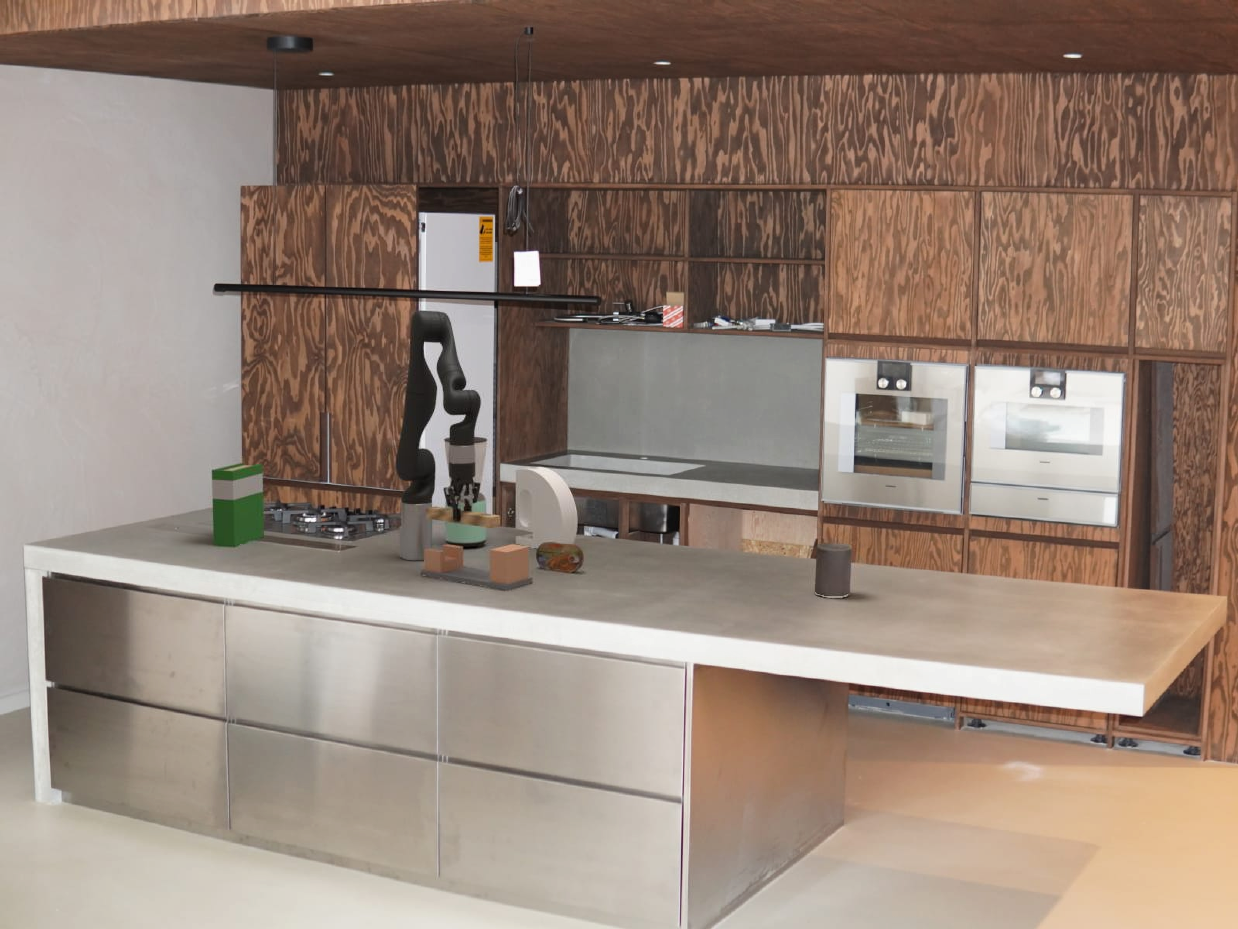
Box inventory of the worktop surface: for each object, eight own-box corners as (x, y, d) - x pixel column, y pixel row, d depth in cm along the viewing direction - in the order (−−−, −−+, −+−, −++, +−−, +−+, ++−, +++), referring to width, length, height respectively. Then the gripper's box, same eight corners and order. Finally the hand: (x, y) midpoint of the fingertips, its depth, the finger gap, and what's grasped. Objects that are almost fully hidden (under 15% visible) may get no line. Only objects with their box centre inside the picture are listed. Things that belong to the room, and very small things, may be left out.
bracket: (530, 542, 455) (530, 465, 452) (577, 551, 441) (577, 471, 438) (515, 545, 450) (514, 467, 447) (562, 554, 436) (562, 474, 433)
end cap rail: (420, 575, 404) (420, 539, 402) (448, 568, 414) (448, 533, 412) (505, 590, 387) (506, 553, 385) (532, 583, 397) (532, 546, 395)
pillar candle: (807, 592, 390) (809, 539, 387) (838, 589, 393) (840, 536, 391) (826, 600, 381) (828, 546, 379) (857, 597, 385) (859, 543, 382)
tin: (535, 568, 415) (535, 540, 414) (540, 566, 418) (541, 539, 417) (579, 574, 408) (580, 546, 407) (585, 572, 411) (585, 544, 410)
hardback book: (243, 535, 459) (241, 462, 456) (263, 537, 457) (262, 463, 454) (213, 545, 442) (211, 470, 439) (234, 547, 440) (232, 471, 437)
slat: (426, 518, 406) (426, 508, 405) (435, 516, 409) (435, 506, 408) (491, 528, 392) (491, 517, 392) (500, 526, 396) (500, 515, 395)
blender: (443, 540, 455) (443, 433, 450) (485, 540, 457) (485, 432, 452) (445, 552, 436) (445, 440, 431) (489, 551, 439) (489, 440, 434)
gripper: (468, 456, 406) (468, 515, 408) (435, 462, 394) (435, 522, 397) (488, 458, 402) (488, 518, 404) (455, 464, 390) (456, 525, 393)
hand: (462, 519), depth 401 cm, fingers closed on slat, 4 cm apart
